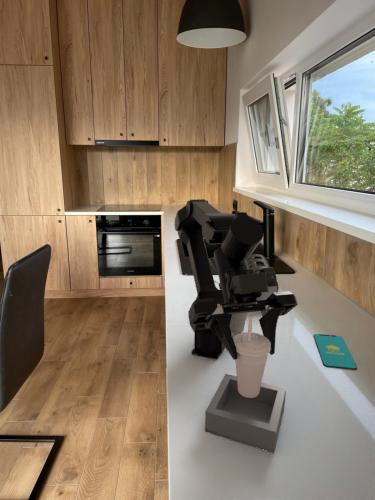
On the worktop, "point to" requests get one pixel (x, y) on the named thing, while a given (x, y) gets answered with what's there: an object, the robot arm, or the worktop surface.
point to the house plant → (237, 322)
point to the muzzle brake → (256, 269)
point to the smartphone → (334, 352)
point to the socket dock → (246, 414)
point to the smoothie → (250, 361)
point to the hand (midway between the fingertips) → (254, 356)
